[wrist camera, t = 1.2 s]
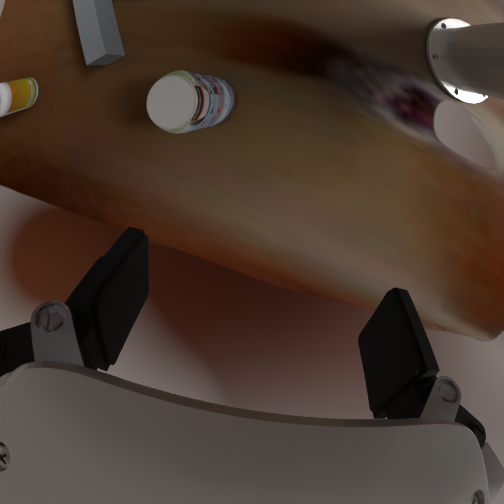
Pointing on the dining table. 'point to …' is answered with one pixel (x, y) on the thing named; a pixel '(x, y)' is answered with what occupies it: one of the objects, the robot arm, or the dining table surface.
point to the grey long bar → (98, 31)
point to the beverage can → (190, 101)
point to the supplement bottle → (17, 95)
